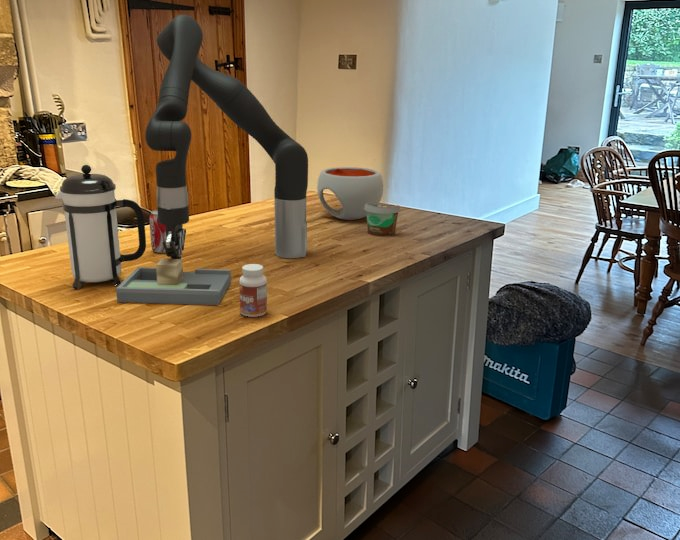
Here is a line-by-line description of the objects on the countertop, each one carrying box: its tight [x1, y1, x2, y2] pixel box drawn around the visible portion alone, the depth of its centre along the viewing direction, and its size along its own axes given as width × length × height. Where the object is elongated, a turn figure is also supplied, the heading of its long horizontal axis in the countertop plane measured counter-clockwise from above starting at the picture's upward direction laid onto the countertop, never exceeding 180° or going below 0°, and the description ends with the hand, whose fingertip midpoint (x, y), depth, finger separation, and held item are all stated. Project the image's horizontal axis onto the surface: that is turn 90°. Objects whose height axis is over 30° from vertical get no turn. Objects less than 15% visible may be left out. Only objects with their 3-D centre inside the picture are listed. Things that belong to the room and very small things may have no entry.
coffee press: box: [54, 164, 147, 290], centre depth 161 cm, size 17×16×30 cm
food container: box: [364, 202, 401, 237], centre depth 212 cm, size 12×6×10 cm, turn 68°
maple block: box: [155, 258, 184, 285], centre depth 158 cm, size 5×5×5 cm
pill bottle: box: [239, 263, 268, 318], centre depth 145 cm, size 6×6×11 cm
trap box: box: [115, 266, 232, 306], centre depth 158 cm, size 24×16×4 cm, turn 89°
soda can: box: [149, 209, 166, 254], centre depth 189 cm, size 7×7×12 cm
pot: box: [316, 166, 384, 221], centre depth 233 cm, size 24×24×18 cm
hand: (176, 270), depth 163 cm, fingers closed
